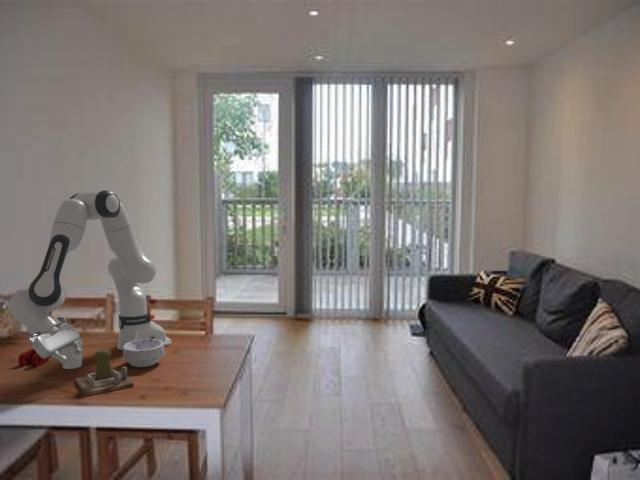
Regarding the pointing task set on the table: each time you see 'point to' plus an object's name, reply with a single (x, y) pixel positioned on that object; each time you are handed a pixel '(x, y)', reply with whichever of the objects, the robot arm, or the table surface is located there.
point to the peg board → (104, 382)
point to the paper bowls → (143, 352)
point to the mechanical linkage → (31, 358)
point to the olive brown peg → (103, 365)
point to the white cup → (72, 357)
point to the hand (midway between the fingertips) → (72, 357)
